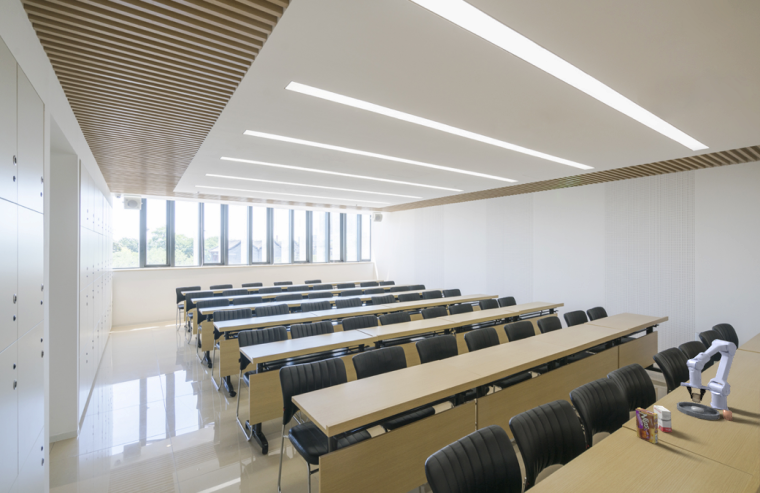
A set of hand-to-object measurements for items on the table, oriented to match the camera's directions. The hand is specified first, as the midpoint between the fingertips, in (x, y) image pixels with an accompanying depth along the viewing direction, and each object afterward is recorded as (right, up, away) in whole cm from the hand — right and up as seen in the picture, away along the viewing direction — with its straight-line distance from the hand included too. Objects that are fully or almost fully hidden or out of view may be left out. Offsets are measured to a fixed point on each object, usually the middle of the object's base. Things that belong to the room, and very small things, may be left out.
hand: (696, 399), depth 223 cm
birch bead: (0, -1, 0) cm, 1 cm away
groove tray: (-4, -6, -5) cm, 9 cm away
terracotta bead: (+6, -6, -14) cm, 16 cm away
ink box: (-43, -6, -25) cm, 50 cm away
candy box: (-61, -6, -36) cm, 71 cm away
